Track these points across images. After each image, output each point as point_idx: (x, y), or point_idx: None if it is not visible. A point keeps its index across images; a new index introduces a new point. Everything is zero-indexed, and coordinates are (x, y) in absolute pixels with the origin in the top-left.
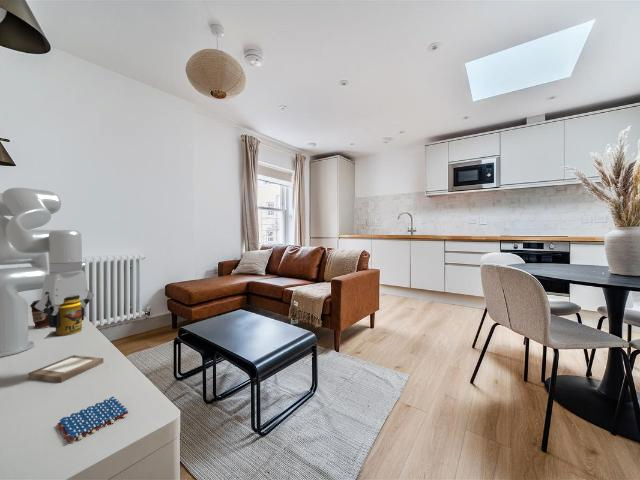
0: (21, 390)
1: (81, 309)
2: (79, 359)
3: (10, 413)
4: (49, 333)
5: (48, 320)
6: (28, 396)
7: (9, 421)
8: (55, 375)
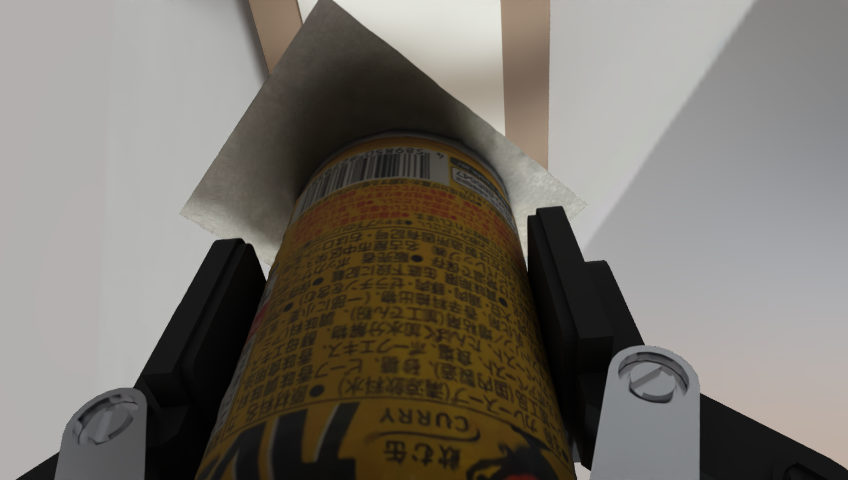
0: (174, 93)
1: (571, 443)
2: (491, 61)
3: (115, 274)
4: (291, 44)
5: (158, 342)
6: (183, 198)
7: (109, 322)
8: None
